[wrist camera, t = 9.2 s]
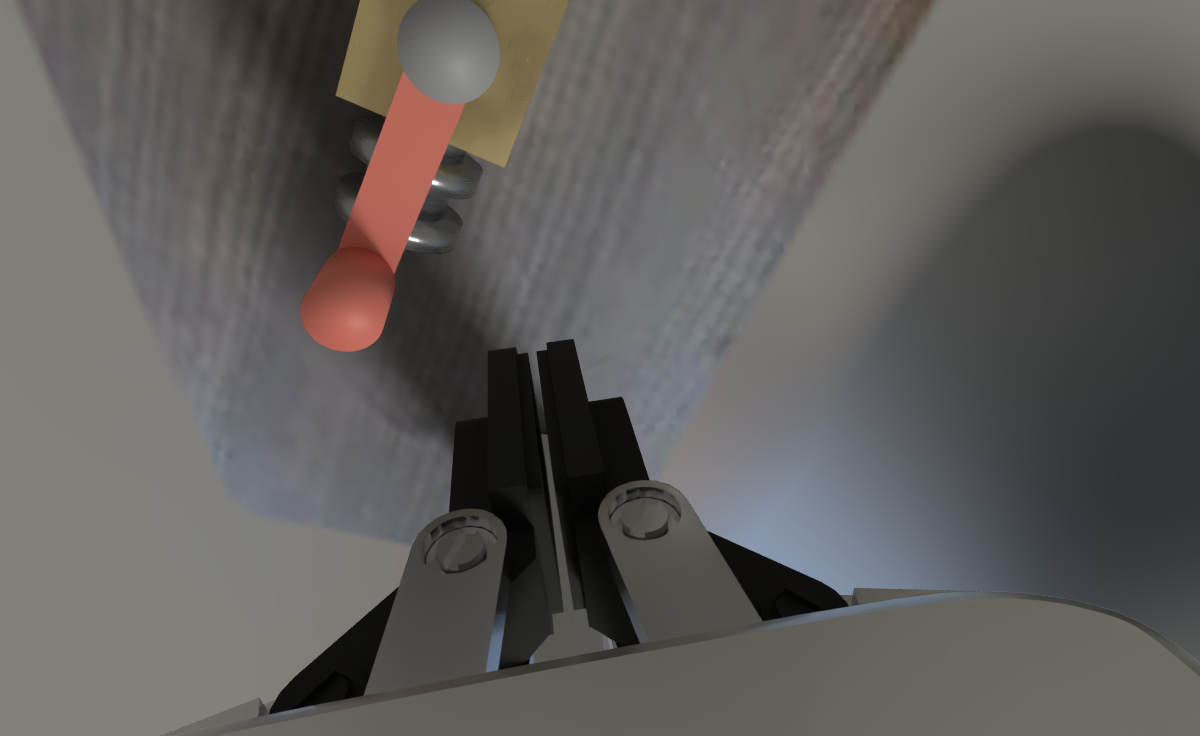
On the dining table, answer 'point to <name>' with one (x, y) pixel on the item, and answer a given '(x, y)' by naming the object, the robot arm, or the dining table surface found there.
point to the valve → (486, 125)
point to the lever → (401, 168)
